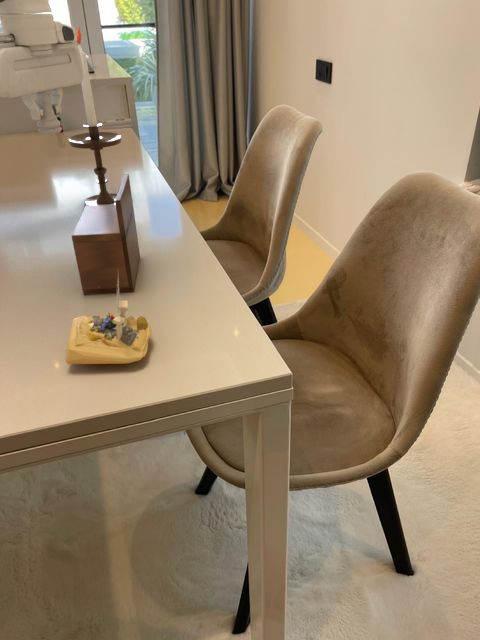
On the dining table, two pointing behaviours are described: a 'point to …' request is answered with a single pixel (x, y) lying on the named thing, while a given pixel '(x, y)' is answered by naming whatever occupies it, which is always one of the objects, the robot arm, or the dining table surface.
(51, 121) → the rook chess piece
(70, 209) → the dining table surface
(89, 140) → the candlestick
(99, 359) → the cake
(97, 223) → the wooden box with backrest
